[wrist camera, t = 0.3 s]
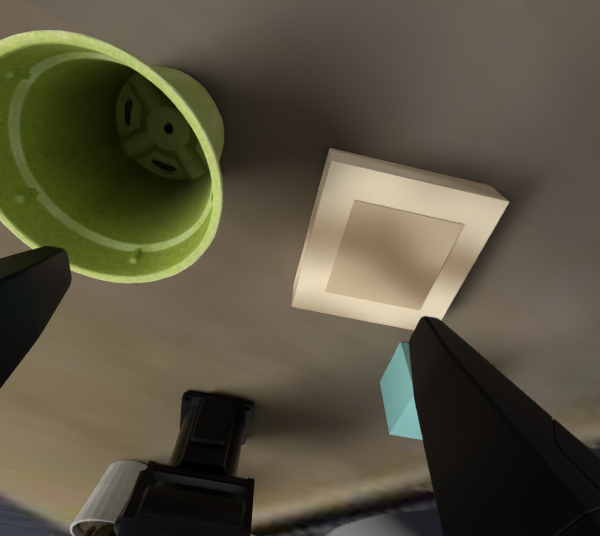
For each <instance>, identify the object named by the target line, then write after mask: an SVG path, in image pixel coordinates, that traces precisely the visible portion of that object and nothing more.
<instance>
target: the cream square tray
mask: <svg viewBox="0 0 600 536" xmlns="http://www.w3.org/2000/svg"><path fill="white" fill-rule="evenodd" d="M508 204H509V201H508V200H507V199H505V198H504V197H503V196H502V195H501V194H500V193H499V192H497V191H496V190H495V189H494V188H493V187H492V186H490V185H486V184H482V183H478V182H473V181H469V180H465V179H461V178H456V177H452V176H448V175H444V174H439V173H435V172H431V171H427V170H422V169H418V168H414V167H410V166H405V165H401V164H397V163H393V162H388V161H384V160H380V159H376V158H371V157H367V156H363V155H359V154H355V153H350V152H346V151H342V150H338V149H333V148H329V151H328V155H327V159H326V163H325V166H324V170H323V174H322V178H321V182H320V186H319V189H318V193H317V197H316V201H315V205H314V209H313V212H312V216H311V220H310V224H309V228H308V231H307V235H306V239H305V243H304V247H303V251H302V254H301V258H300V262H299V266H298V270H297V274H296V277H295V281H294V285H293V298H292V307H296V308H301V309H306V310H311V311H316V312H322V313H327V314H332V315H337V316H342V317H348V318H353V319H358V320H363V321H369V322H374V323H379V324H384V325H389V326H395V327H400V328H405V329H410V330H415V328H416V326H417V324H418V322H419V320H420V318H421V317H423V316H429V317H435V318H438V319H440V320H442V318H443V316H444V315H445V313H446V311H447V309H448V308H449V306H450V304H451V302H452V301H453V299H454V297H455V295H456V294H457V292H458V290H459V289H460V287H461V285H462V283H463V282H464V280H465V278H466V276H467V275H468V273H469V271H470V269H471V268H472V266H473V264H474V263H475V261H476V259H477V257H478V256H479V254H480V252H481V250H482V249H483V247H484V245H485V243H486V242H487V240H488V238H489V236H490V235H491V233H492V231H493V230H494V228H495V226H496V224H497V223H498V221H499V219H500V217H501V216H502V214H503V212H504V210H505V209H506V207H507V205H508Z"/></svg>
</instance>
